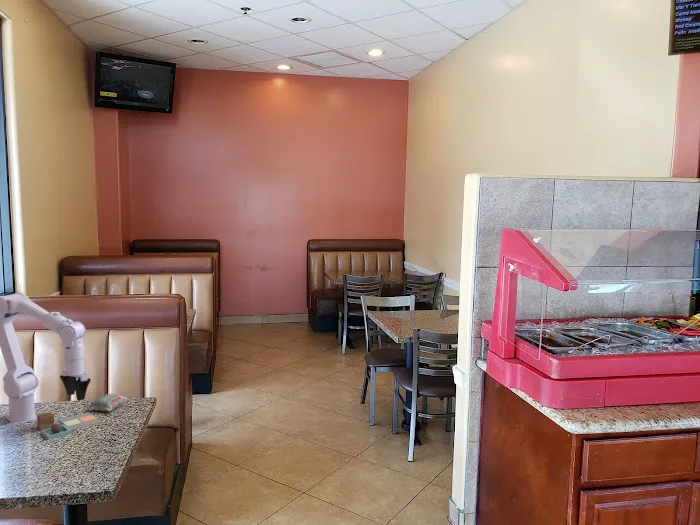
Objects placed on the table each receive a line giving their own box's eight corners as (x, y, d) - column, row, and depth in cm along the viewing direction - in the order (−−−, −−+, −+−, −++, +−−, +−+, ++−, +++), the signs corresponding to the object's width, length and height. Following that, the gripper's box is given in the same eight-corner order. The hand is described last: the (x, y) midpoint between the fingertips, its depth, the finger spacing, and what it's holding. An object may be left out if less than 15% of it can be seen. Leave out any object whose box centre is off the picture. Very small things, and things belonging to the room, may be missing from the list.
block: (37, 429, 185) (36, 414, 184) (50, 426, 188) (49, 411, 187) (41, 432, 182) (40, 418, 182) (54, 429, 185) (53, 415, 184)
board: (58, 422, 191) (58, 419, 191) (88, 414, 198) (88, 411, 198) (70, 432, 182) (70, 429, 182) (101, 424, 189) (101, 421, 189)
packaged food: (129, 404, 209) (128, 391, 208) (109, 416, 197) (108, 402, 197) (108, 403, 210) (107, 390, 210) (87, 414, 199) (87, 401, 198)
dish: (41, 434, 180) (41, 430, 180) (64, 428, 185) (64, 424, 185) (48, 441, 175) (48, 436, 175) (71, 435, 180) (71, 430, 180)
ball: (49, 433, 180) (49, 423, 180) (60, 430, 183) (59, 421, 182) (52, 436, 178) (52, 426, 178) (63, 433, 180) (63, 423, 180)
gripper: (52, 356, 189) (54, 395, 190) (71, 364, 179) (73, 405, 181) (73, 352, 194) (75, 390, 195) (93, 360, 185) (94, 399, 186)
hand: (75, 397), depth 188 cm, fingers open, 7 cm apart
